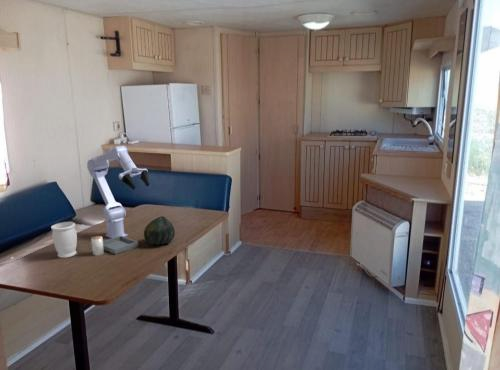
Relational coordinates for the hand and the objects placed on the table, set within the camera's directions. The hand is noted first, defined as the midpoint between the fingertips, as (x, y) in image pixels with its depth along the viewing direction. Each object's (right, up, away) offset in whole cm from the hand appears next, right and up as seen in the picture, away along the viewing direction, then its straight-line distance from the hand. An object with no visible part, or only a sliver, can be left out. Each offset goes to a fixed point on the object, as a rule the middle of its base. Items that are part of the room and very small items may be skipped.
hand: (141, 186), depth 189 cm
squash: (+6, -29, +14) cm, 33 cm away
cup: (-21, -32, +2) cm, 39 cm away
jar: (-36, -33, +2) cm, 49 cm away
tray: (-14, -30, +10) cm, 35 cm away
